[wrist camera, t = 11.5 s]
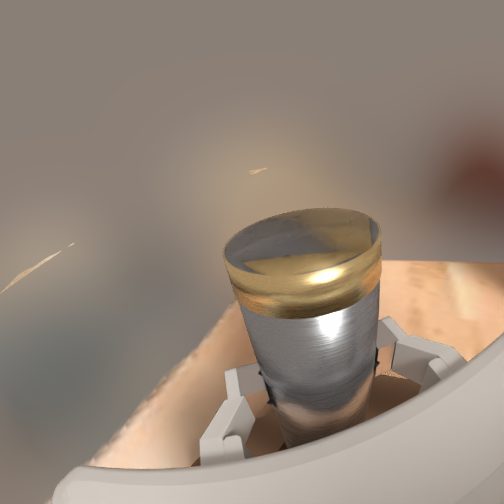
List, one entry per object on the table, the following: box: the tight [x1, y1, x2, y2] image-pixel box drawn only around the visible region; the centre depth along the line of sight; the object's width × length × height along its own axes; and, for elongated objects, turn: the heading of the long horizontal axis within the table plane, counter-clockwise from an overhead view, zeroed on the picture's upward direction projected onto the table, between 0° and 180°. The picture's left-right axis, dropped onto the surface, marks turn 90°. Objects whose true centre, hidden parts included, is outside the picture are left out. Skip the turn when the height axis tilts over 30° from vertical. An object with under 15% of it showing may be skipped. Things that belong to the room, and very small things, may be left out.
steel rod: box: [223, 208, 382, 449], centre depth 11 cm, size 5×5×14 cm
